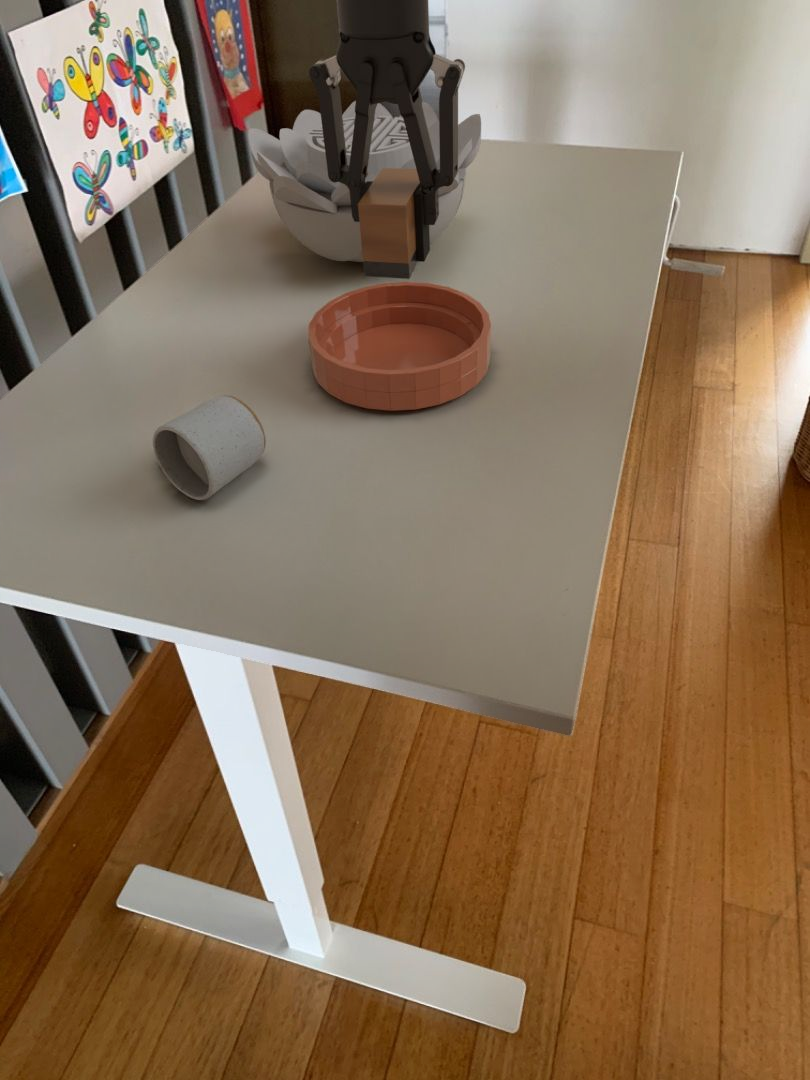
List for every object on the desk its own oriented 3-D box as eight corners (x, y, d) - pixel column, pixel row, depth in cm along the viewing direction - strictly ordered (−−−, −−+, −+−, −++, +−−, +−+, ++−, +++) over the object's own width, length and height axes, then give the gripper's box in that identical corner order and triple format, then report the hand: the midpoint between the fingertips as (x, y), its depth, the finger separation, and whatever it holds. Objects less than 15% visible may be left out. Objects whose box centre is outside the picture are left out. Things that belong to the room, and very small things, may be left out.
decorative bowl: (305, 197, 131) (292, 91, 120) (493, 210, 124) (496, 99, 114) (222, 287, 110) (197, 169, 100) (443, 309, 103) (441, 184, 93)
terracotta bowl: (501, 327, 99) (503, 287, 96) (472, 423, 85) (473, 381, 82) (342, 315, 103) (338, 276, 100) (289, 405, 89) (283, 364, 86)
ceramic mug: (277, 465, 82) (263, 398, 77) (218, 512, 77) (199, 444, 72) (200, 433, 87) (182, 367, 81) (140, 475, 82) (117, 409, 77)
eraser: (387, 237, 87) (382, 167, 83) (429, 239, 87) (427, 169, 82) (364, 276, 81) (357, 203, 76) (409, 279, 80) (405, 205, 75)
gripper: (262, -14, 67) (301, 265, 83) (481, -17, 63) (478, 276, 79) (293, -32, 72) (324, 234, 88) (496, -36, 69) (491, 242, 84)
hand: (397, 253), depth 84 cm, fingers closed on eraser, 4 cm apart
